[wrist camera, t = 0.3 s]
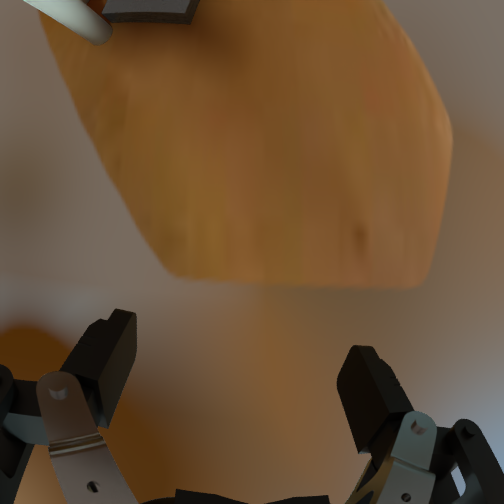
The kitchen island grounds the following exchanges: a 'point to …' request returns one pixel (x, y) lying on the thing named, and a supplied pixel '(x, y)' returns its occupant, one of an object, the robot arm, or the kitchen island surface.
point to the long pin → (76, 18)
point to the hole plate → (150, 11)
